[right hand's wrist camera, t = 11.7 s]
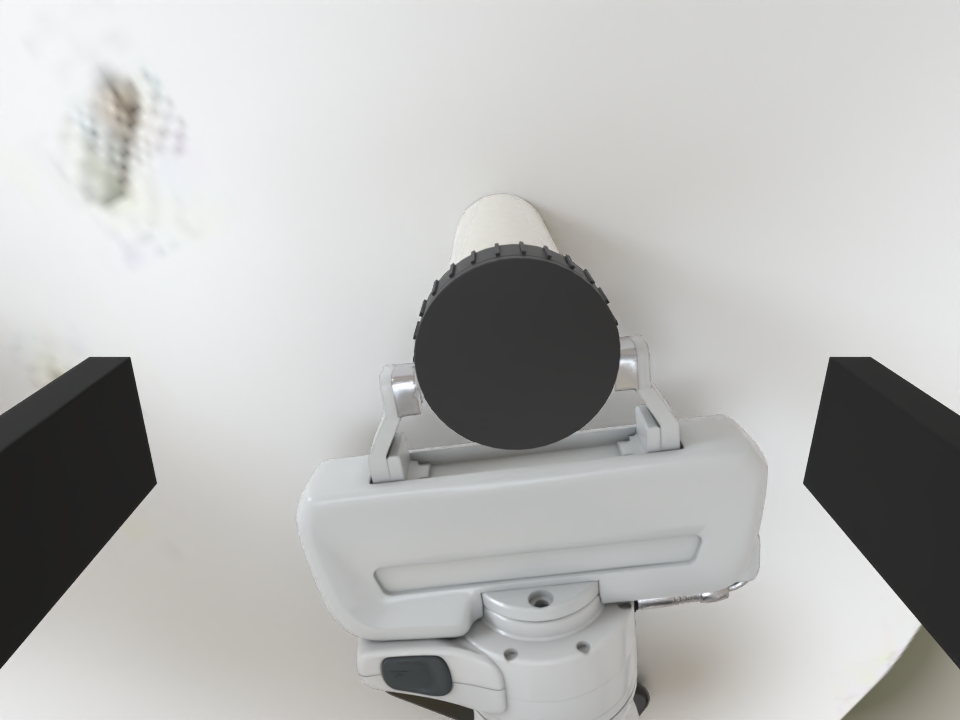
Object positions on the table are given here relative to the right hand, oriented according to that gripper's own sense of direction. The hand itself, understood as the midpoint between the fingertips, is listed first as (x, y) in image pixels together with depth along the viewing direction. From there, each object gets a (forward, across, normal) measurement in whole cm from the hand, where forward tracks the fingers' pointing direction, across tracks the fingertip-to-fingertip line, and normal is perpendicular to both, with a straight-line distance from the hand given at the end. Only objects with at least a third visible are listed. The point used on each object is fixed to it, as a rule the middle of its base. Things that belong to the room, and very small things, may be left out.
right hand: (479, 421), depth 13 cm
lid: (+5, -1, +1) cm, 5 cm away
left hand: (+14, -1, +4) cm, 15 cm away
